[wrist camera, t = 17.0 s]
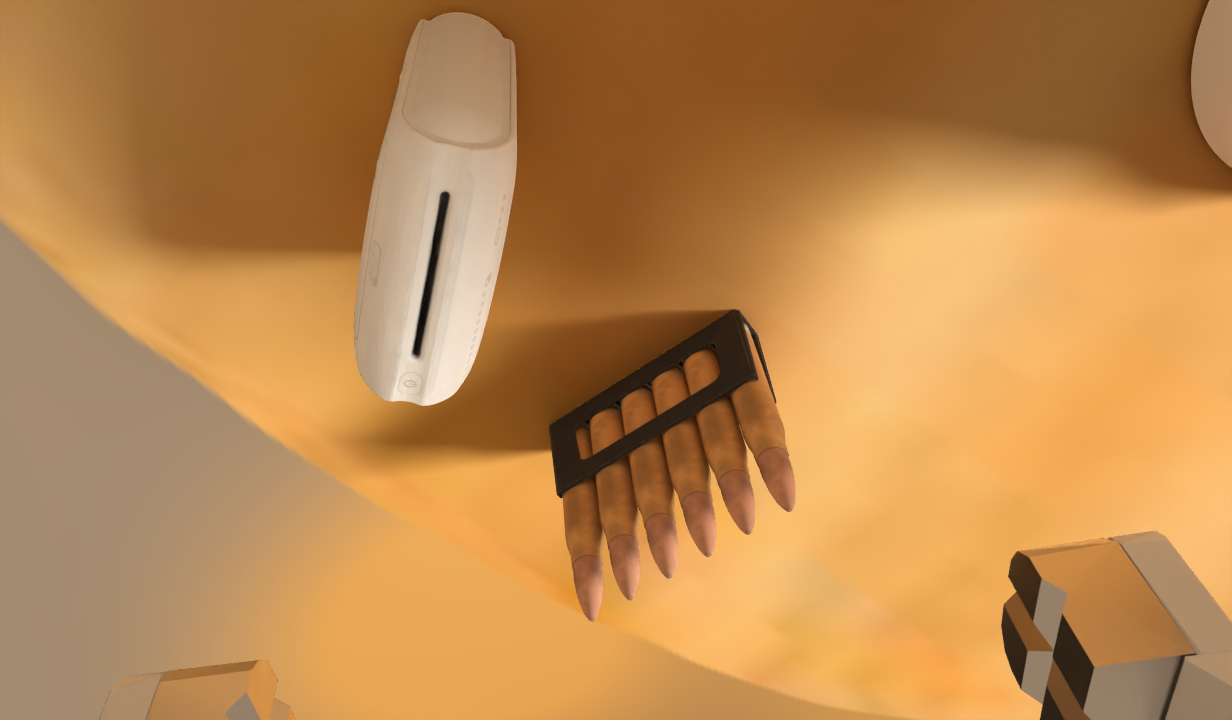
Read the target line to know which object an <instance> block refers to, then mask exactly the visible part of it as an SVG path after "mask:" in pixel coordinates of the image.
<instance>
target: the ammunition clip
mask: <svg viewBox="0 0 1232 720" xmlns="http://www.w3.org/2000/svg"><path fill="white" fill-rule="evenodd" d="M775 403H776V398H775V395H774V391H773V388H772V384H771V381H770V377H769V373H768V370H767V366H766V363H765V359H764V356H763V352H762V349H761V345H760V341H759V338H758V335H757V333H756V332H755V331H754V329H753V328H752V327H751V326H750V324H749V323H748V322H747V320H746V319H745V318H744V316H743V315H742V314H741V312H740V311H739V310H733V311H731V312H729V313H728V314H726V315H725V316H723V317H721V318H720V319H718V320H717V321H715V322H713V323H712V324H710V325H709V326H707V327H705V328H704V329H702V330H701V331H699V332H697V333H696V334H694V335H693V336H691V337H690V338H688V339H686V340H685V341H683V342H682V343H680V344H678V345H677V346H675V347H674V348H672V349H670V350H669V351H667V352H666V353H664V354H662V355H661V356H659V357H658V358H656V359H654V360H653V361H651V362H650V363H648V364H647V365H645V366H643V367H642V368H640V369H639V370H637V371H635V372H634V373H632V374H631V375H629V376H627V377H626V378H624V379H623V380H621V381H619V382H618V383H616V384H615V385H613V386H611V387H610V388H608V389H607V390H605V391H604V392H602V393H600V394H599V395H597V396H596V397H594V398H592V399H591V400H589V401H588V402H586V403H584V404H583V405H581V406H580V407H578V408H576V409H575V410H573V411H572V412H570V413H568V414H567V415H565V416H564V417H562V418H561V419H559V420H557V421H556V422H554V423H553V424H551V425H550V426H549V431H550V440H551V449H552V457H553V466H554V474H555V483H556V491H557V495H558V496H559V497H560V498H563V508H564V522H565V535H566V542H567V547H568V550H569V553H570V555H571V562H572V569H573V574H574V582H575V588H576V592H577V597H578V600H579V603H580V605H581V608H582V610H583V612H584V614H585V615H586V617H587V618H588V619H589V620H590V621H594V620H595V619H596V617H597V615H598V613H599V610H600V606H601V602H602V596H603V570H602V567H603V557H602V552H603V546H604V533H605V535H606V539H607V544H608V549H609V552H610V560H611V565H612V569H613V573H614V576H615V579H616V581H617V584H618V586H619V588H620V590H621V592H622V593H623V595H624V596H625V597H626V598H627V599H628V600H632V599H633V598H634V596H635V594H636V591H637V588H638V583H639V577H640V556H639V548H638V546H639V541H638V527H639V512H638V508H639V510H640V512H641V514H642V518H643V522H644V527H645V529H646V533H647V539H648V543H649V546H650V550H651V553H652V555H653V558H654V560H655V562H656V564H657V566H658V568H659V569H660V571H661V572H662V574H663V575H664V576H665V577H666V578H668V579H670V578H672V576H673V574H674V572H675V569H676V565H677V558H678V541H677V531H676V521H675V513H674V506H675V493H674V488H675V490H676V492H677V494H678V497H679V501H680V504H681V507H682V509H683V513H684V518H685V521H686V524H687V527H688V530H689V532H690V534H691V537H692V539H693V540H694V542H695V544H696V545H697V547H698V549H699V550H700V551H701V552H702V553H703V554H704V555H705V556H706V557H710V556H711V555H712V553H713V550H714V547H715V540H716V523H715V513H714V508H713V504H712V494H711V489H710V485H711V476H710V468H709V465H710V467H711V468H712V470H713V472H714V474H715V476H716V479H717V482H718V485H719V487H720V489H721V493H722V496H723V500H724V502H725V504H726V507H727V509H728V511H729V513H730V515H731V517H732V518H733V520H734V522H735V523H736V525H737V526H738V527H739V528H740V530H741V531H743V532H744V533H745V534H747V535H749V534H751V532H752V530H753V527H754V523H755V502H754V494H753V489H752V486H751V482H750V475H749V471H748V466H747V450H746V446H745V443H744V439H745V442H746V444H747V445H748V447H749V449H750V450H751V452H752V453H753V455H754V458H755V460H756V463H757V465H758V467H759V469H760V472H761V475H762V478H763V480H764V482H765V484H766V486H767V488H768V490H769V492H770V493H771V495H772V496H773V498H774V499H775V500H776V502H777V503H778V504H779V505H780V506H781V507H782V508H783V509H784V510H786V511H787V512H791V511H792V510H793V507H794V504H795V480H794V475H793V470H792V466H791V463H790V460H789V454H788V451H787V447H786V444H785V431H784V427H783V424H782V421H781V418H780V415H779V413H778V410H777V407H776V404H775ZM739 425H740V426H739ZM740 427H741V429H740ZM741 430H742V432H741ZM742 434H743V436H742ZM743 437H744V439H743ZM708 463H709V464H708ZM673 486H674V487H673ZM562 494H563V496H562Z"/></svg>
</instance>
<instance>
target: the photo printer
mask: <svg viewBox="0 0 1232 720" xmlns="http://www.w3.org/2000/svg"><path fill="white" fill-rule="evenodd" d="M399 78H400V82H399V86H398V90H397V93H396V97H395V101H394V104H393V108H392V112H391V116H390V119H389V123H388V126H387V129H386V133H385V136H384V140H383V143H382V146H381V150H380V155H379V158H378V160H377V169H376V174H375V178H374V182H373V188H372V193H371V199H370V205H369V210H368V216H367V222H366V228H365V234H364V241H363V248H362V254H361V261H360V269H359V277H358V285H357V294H356V302H355V313H354V345H355V355H356V361H357V365H358V370H359V373H360V376H361V378H362V379H363V381H364V382H365V384H366V385H367V386H368V387H369V388H370V389H371V390H372V391H373V392H374V393H375V394H377V395H378V396H380V397H381V398H382V399H384V400H387V401H391V402H393V401H407V402H412V403H415V404H418V405H421V406H428V405H433V404H437V403H439V402H441V401H444V400H446V399H448V398H449V397H451V396H452V395H453V394H455V393H456V392H457V390H458V389H459V388H460V386H461V385H462V383H463V382H464V380H465V379H466V377H467V375H468V374H469V372H470V370H471V368H472V365H473V363H474V361H475V358H476V355H477V352H478V349H479V346H480V343H481V339H482V336H483V332H484V328H485V325H486V321H487V317H488V314H489V310H490V306H491V302H492V297H493V293H494V289H495V285H496V280H497V276H498V272H499V267H500V262H501V258H502V253H503V248H504V243H505V238H506V233H507V227H508V221H509V216H510V210H511V205H512V199H513V193H514V186H515V179H516V168H517V83H516V55H515V45H514V43H513V41H512V40H511V39H506V38H503V36H502V34H501V33H500V31H499V30H498V29H497V28H496V27H495V26H493V25H492V24H491V23H490V22H488V21H487V20H485V19H483V18H481V17H479V16H476V15H473V14H469V13H463V12H450V13H445V14H442V15H439V16H436V17H434V18H433V19H432V20H430V21H428V20H425V19H421V20H420V21H419V22H418V24H417V26H416V28H415V30H414V33H413V35H412V37H411V40H410V43H409V46H408V49H407V52H406V56H405V60H404V65H403V69H402V72H401V74H400V77H399Z"/></svg>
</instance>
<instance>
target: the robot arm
mask: <svg viewBox="0 0 1232 720" xmlns="http://www.w3.org/2000/svg"><path fill="white" fill-rule="evenodd" d="M1191 93H1192V101H1193V107H1194V111H1195V116H1196V119H1197V122H1198V125H1199V127H1200V129H1201V132H1202V134H1203V136H1204V138H1205V139H1206V141H1207V143H1208V144H1209V146H1210V147H1211V148H1212V150H1213V151H1214V152H1215V153H1216V155H1217V156H1218V157H1219V158H1220V159H1221V160H1222V161H1223V162H1225V163H1226V164H1227V165H1228V166H1229V167H1231V168H1232V0H1209V2H1208V5H1207V7H1206V10H1205V12H1204V15H1203V18H1202V21H1201V24H1200V27H1199V30H1198V34H1197V38H1196V42H1195V47H1194V53H1193V59H1192V69H1191ZM1008 577H1009V579H1010V581H1011V582H1012V584H1013V586H1014V588H1015V590H1016V593H1015V594H1014V595H1013V596H1012V597H1011V598H1010V599H1009V600H1008V601H1007V602H1006V603H1005V604H1004V606H1003V615H1002V624H1001V628H1002V635H1003V642H1004V649H1005V653H1006V656H1007V659H1008V661H1009V664H1010V667H1011V670H1012V672H1013V674H1014V676H1015V678H1016V680H1017V682H1018V685H1019V687H1020V689H1021V690H1022V691H1024V692H1025V693H1027V694H1028V695H1030V696H1031V697H1033V698H1034V699H1036V700H1037V701H1039V702H1040V703H1042V704H1043V706H1042V711H1041V716H1040V720H1232V621H1231V620H1230V619H1229V618H1228V616H1227V615H1226V614H1225V612H1224V611H1223V610H1222V609H1221V607H1220V606H1219V605H1218V603H1217V602H1216V601H1215V600H1214V598H1213V597H1212V596H1211V594H1210V593H1209V592H1208V591H1207V589H1206V588H1205V587H1204V585H1203V584H1202V583H1201V582H1200V580H1199V579H1198V578H1197V576H1196V575H1195V574H1194V572H1193V571H1192V570H1191V569H1190V567H1189V566H1188V565H1187V563H1186V562H1185V561H1184V560H1183V558H1182V557H1181V556H1180V554H1179V553H1178V552H1177V551H1176V549H1175V548H1174V547H1173V545H1172V544H1171V543H1170V542H1169V540H1168V539H1167V538H1166V537H1165V536H1164V535H1162V534H1160V533H1159V532H1157V531H1151V532H1144V533H1137V534H1130V535H1123V536H1116V537H1110V538H1107V539H1105V538H1099V539H1092V540H1086V541H1079V542H1073V543H1067V544H1060V545H1054V546H1047V547H1041V548H1034V549H1028V550H1021V551H1017V552H1016V553H1015V555H1014V556H1013V558H1012V559H1011V563H1010V569H1009V574H1008ZM277 682H278V679H277V677H276V675H275V673H274V672H273V670H272V668H271V666H270V664H269V662H268V661H267V660H256V661H247V662H239V663H229V664H221V665H212V666H204V667H195V668H187V669H178V670H169V671H165V672H157V673H149V674H142V675H133V676H125V677H122V678H121V679H120V680H119V681H118V683H116V684H115V686H114V687H113V688H112V689H111V690H110V692H109V695H108V697H107V700H106V703H105V705H104V707H103V710H102V713H101V715H100V718H99V720H296V719H295V717H294V714H293V712H292V710H291V707H290V706H289V705H287V704H285V703H283V702H281V701H280V700H278V699H276V698H274V695H275V691H276V687H277Z"/></svg>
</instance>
